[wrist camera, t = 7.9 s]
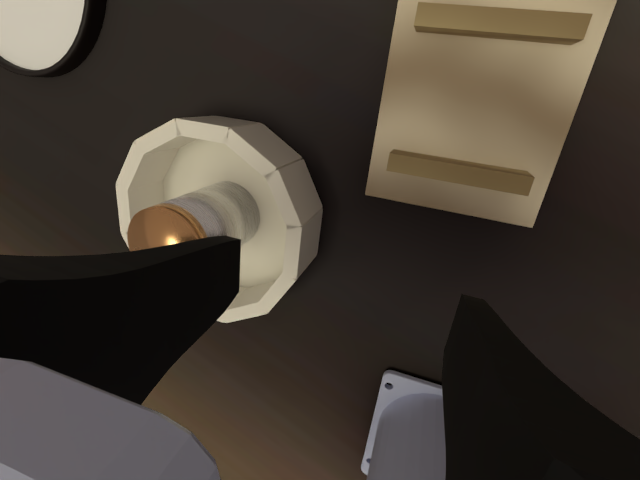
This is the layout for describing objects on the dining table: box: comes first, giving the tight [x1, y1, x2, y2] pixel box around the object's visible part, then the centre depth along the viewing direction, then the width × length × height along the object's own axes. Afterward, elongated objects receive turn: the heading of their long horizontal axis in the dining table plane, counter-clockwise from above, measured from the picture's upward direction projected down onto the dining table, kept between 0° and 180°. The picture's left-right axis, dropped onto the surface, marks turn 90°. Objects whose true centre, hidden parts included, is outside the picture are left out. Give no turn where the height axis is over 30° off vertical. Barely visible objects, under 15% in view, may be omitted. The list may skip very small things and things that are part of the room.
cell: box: [127, 181, 260, 251], centre depth 20 cm, size 4×4×6 cm
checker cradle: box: [365, 0, 617, 228], centre depth 16 cm, size 10×8×2 cm
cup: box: [116, 116, 323, 323], centre depth 21 cm, size 11×11×4 cm
